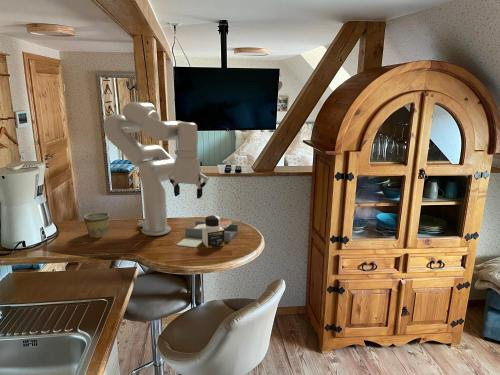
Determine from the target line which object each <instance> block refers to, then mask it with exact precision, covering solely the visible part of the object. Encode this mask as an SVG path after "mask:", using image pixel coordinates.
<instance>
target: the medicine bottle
mask: <svg viewBox="0 0 500 375" xmlns="http://www.w3.org/2000/svg"><path fill="white" fill-rule="evenodd" d="M204 221H205V224H206V226H205V227H202V240H203V242H202V244H203V245H204V246H205V247H206V248H207V249H209V248H210V249H211V248H216V247H217V248H218V247H223V246H225V241H224V229H223V228H221V227H220V222H221V217H220V216H219V215H215V214H214V215H208V216H206V217H205V220H204Z"/></svg>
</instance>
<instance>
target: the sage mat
mask: <svg viewBox="0 0 500 375" xmlns="http://www.w3.org/2000/svg"><path fill="white" fill-rule="evenodd" d="M201 244H203V240H202V239H199V238H190V237H184V238H183V239H181V241H179V242H177V244H176V246H178V247H180V246H181V247H186V248H188V247H189V248H197V247H198V246H200V245H201Z"/></svg>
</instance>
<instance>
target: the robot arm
mask: <svg viewBox="0 0 500 375" xmlns="http://www.w3.org/2000/svg"><path fill="white" fill-rule="evenodd" d="M103 130H104V133H105V136H106V138H107V139H108V141H109V142H110V143H111V144H112V145H114V146H115V147H116V148H117V149H118V150H119V151H120V152H121V153H122V154H123V156H124V157H126V158H127V159H128V161H129V162H130V163H131V164H132V165H133V166H134V167H137V168H139V169H138V172H139V178H140V181H141V182H140V183H141V187H142V197H143V211H144V212H143V213H144V215H143V216H144V220H138V222H137V226H138V227H142V228H141V233H143V235H147V236H152V237H153V236H155V237H156V236H162V235H165V234H169V233H170V232H171V230H172V227H171V226H170V225H168V217H167V216H168V212H167V195H166V190H165V189H166V188H165V187H164V186H163V185H162V182H166V181H169V182H170V184H171V185H172V187H173V193H174V196H175V197H178V196H179V195H180V194H181V192H180V191H181V188H180V187H181V186H180V184H183V185H184V184H186V185H188V184H189V185H196V187H197V188H196V199H197V200H199V199H200V198H202V196H203V189H204V187H205V186H206V185H207V183H208V181H209V177H208V176H206V175H205V174H204V173H202V169H201V168H202V167H201V163H200V158H199V157H198V125H197V124H196V123H195V122H190V121H189V122H187V121H181V120H160V115H159V113H158V112H157V110H156V107H155V105H153V103H150V102H147V101H132V102H131V101H130V102H128V103H126V104H125V105H124V106H123V108H122V114H121V113H117V114H111V115H109V116H107V117H105V119H104V121H103ZM142 130H143V131H144V133H145V135H147V136H148V137H150V138H152V139H154V140H156V141H161V142H165V141H177V150H174V154H175V155H177V157H175V158H173V157H172V156H171V155H170V153H168V152H167V151H166V150H165V149H164V148H163V147H161V146H160V145H158V144H142V143H141V142H139V141H138V139H136V138H135V137H134V136H133V135H131V134H132V133H140V132H141V131H142ZM129 133H130V134H129ZM202 180H203V182H202Z"/></svg>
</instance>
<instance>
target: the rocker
mask: <svg viewBox="0 0 500 375" xmlns="http://www.w3.org/2000/svg"><path fill="white" fill-rule="evenodd" d="M230 224H233V222H232V220H224V221H220V227H221V228H227V227H228V226H229V225H230ZM195 226H196V225H195ZM195 226H194V227H195ZM205 226H206V224H200V225H197V226H196V227H195V228H197V229H202V227H205Z"/></svg>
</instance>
